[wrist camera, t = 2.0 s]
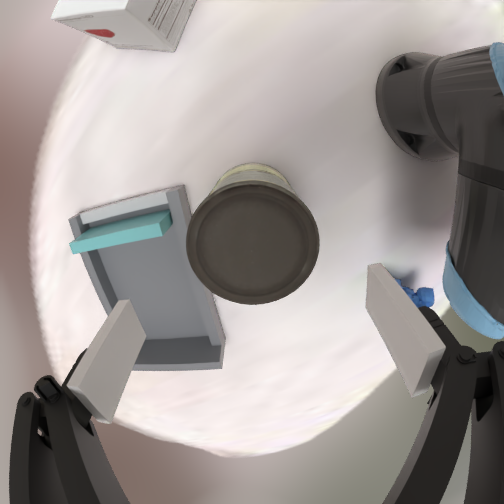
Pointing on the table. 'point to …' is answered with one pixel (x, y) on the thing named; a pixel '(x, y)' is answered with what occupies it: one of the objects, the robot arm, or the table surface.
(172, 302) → the lane
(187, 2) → the supplement box
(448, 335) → the robot arm
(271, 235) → the coffee can
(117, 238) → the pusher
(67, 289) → the table surface
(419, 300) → the grapes
